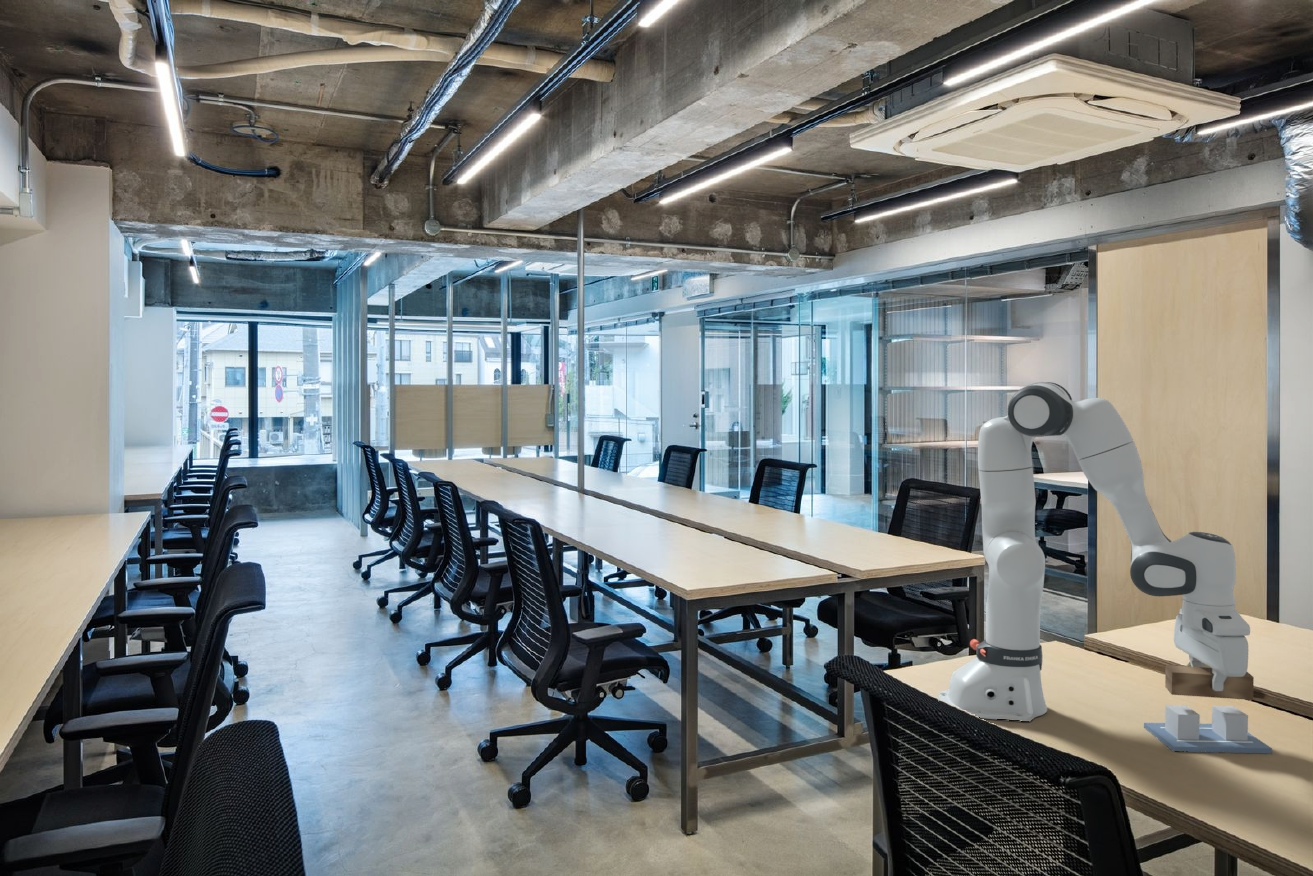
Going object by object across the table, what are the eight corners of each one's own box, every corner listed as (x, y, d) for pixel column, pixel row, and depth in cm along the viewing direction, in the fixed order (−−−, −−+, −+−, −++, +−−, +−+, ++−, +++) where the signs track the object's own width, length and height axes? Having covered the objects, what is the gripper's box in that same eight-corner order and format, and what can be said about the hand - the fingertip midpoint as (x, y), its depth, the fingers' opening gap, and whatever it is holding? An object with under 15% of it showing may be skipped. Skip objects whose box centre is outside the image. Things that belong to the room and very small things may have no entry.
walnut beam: (1171, 694, 173) (1171, 672, 173) (1165, 687, 177) (1165, 665, 177) (1253, 700, 169) (1253, 677, 169) (1244, 692, 173) (1245, 669, 173)
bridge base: (1173, 751, 169) (1174, 721, 168) (1143, 727, 180) (1144, 699, 180) (1271, 753, 167) (1272, 722, 167) (1235, 729, 179) (1236, 700, 179)
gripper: (1165, 602, 183) (1164, 667, 184) (1220, 629, 163) (1219, 702, 163) (1197, 602, 182) (1196, 667, 183) (1256, 629, 162) (1254, 702, 163)
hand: (1207, 684), depth 173 cm, fingers closed on walnut beam, 5 cm apart
